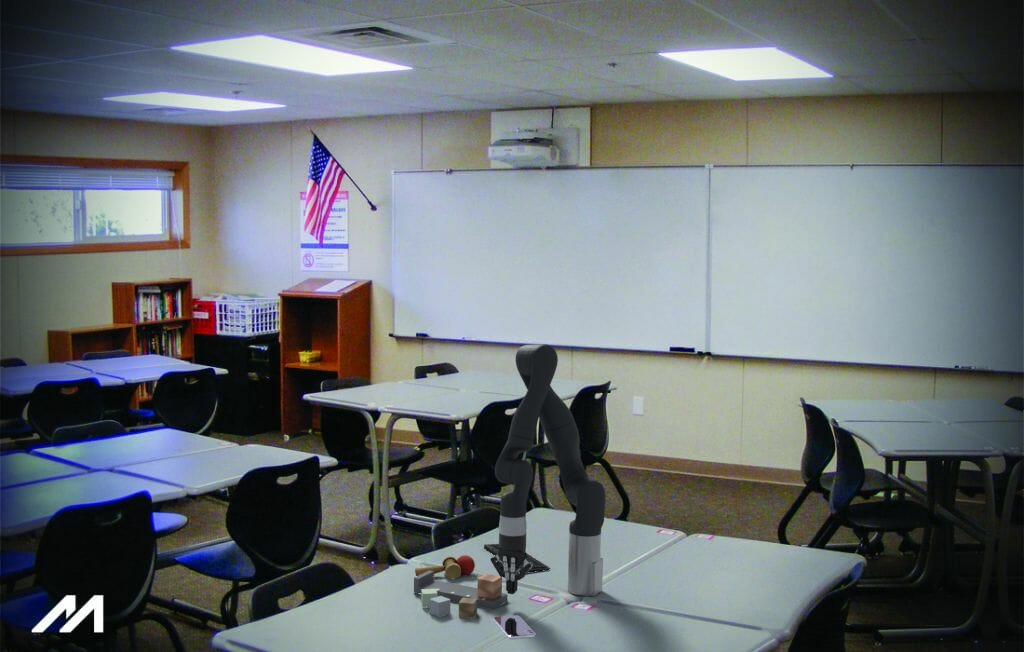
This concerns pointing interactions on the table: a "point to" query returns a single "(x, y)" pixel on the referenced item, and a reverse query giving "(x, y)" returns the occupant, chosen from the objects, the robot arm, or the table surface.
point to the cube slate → (439, 606)
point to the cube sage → (427, 596)
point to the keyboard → (537, 564)
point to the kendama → (451, 567)
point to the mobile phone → (513, 626)
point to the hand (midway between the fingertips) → (511, 593)
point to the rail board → (455, 591)
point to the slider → (489, 586)
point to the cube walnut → (468, 607)
